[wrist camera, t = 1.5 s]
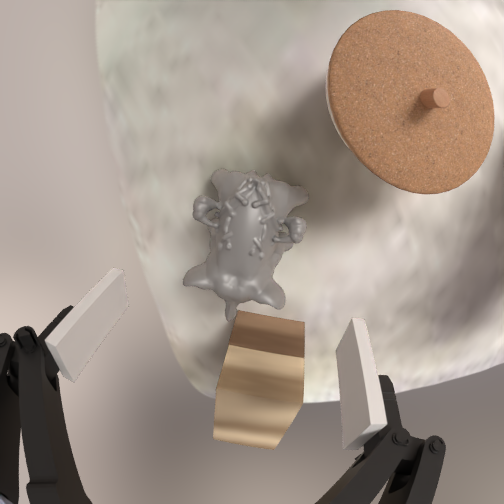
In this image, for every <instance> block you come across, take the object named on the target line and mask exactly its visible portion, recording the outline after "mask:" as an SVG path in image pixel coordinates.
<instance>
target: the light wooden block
mask: <svg viewBox="0 0 504 504" xmlns="http://www.w3.org/2000/svg"><path fill="white" fill-rule="evenodd" d="M303 394H304V358H301V357H294V356H287V355H281V354H275V353H269V352H264V351H258V350H253V349H248V348H243V347H238V346H233V345H229V347H228V350H227V353H226V357H225V360H224V364H223V367H222V370H221V374H220V377H219V381H218V384H217V387H216V400H215V417H214V436H213V438H214V439H216V440H220V441H225V442H229V443H235V444H240V445H246V446H251V447H258V448H264V449H272V450H274V449H275V447H276V446H277V445H278V443H279V442H280V440H281V439H282V437H283V435H284V434H285V432H286V431H287V429H288V428H289V426H290V424H291V423H292V421H293V419H294V418H295V416H296V414H297V413H298V411H299V409H300V408H301V406H302V404H303Z"/></svg>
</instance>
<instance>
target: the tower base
mask: <svg viewBox="0 0 504 504" xmlns="http://www.w3.org/2000/svg"><path fill="white" fill-rule="evenodd" d="M229 345H233V346H238V347H243V348H248V349H253V350H258V351H264V352H269V353H275V354H281V355H287V356H294V357H301V358H304V347H305V322H300V321H294V320H288V319H282V318H277V317H271V316H266V315H260V314H255V313H250V312H245V311H240V310H238V313H237V316H236V320H235V323H234V326H233V330H232V333H231V337H230V340H229V344H228V347H229Z"/></svg>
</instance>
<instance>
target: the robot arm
mask: <svg viewBox="0 0 504 504" xmlns="http://www.w3.org/2000/svg"><path fill="white" fill-rule="evenodd" d="M128 307H129V304H128V298H127V291H126V283H125V276H124V270H122V269H118V268H114V267H113V268H112V269H111V270H110V271H109V272H108V273H107V274H106V275H105V276H104V277H103V278H102V279H101V280H100V281H99V282H98V283H97V284H96V285H95V286H94V287H93V288H92V289H91V290H90V291H89V292H88V293H87V294H86V295H85V296H84V297H83V298H82V299H81V300H80V301H79V303H78V304H77V305H76V306H75V307H73V306H71V305H70V306H69V307H67V308H65V309H63V310H62V311H61V312H60V313H59V314H58V315H57V317H56V318H55V319H54V320H53V322H51V323H50V324H49V325H48V326H47V328H46V329H45V330H44V331H43V332H42V333H41V334H40V335H39V336H38V337H37V335H36V333H35V331H34V329H33V328H32V327H29V326H24V327H21V328H19V329H18V330H17V331H16V332H15V334H14V337H13V338H14V340H15V341H13V340H12V339H11V336H10V335H8V334H7V333H1V334H0V504H18V500H19V445H20V432H21V430H22V439H23V445H24V452H25V457H26V463H27V467H28V472H29V477H30V482H29V483H28V484H27V486H26V489H27V495H28V498H29V501H30V504H92V502H91V501H90V499H89V498H88V497H87V496H86V494H85V492H84V489H83V486H82V483H81V480H80V477H79V474H78V471H77V468H76V465H75V461H74V458H73V454H72V450H71V446H70V442H69V438H68V434H67V430H66V424H65V419H64V413H63V408H62V401H61V396H60V387H59V378H58V375H57V373H58V372H59V370H60V371H61V373H62V375H63V377H65V378H67V379H69V380H70V381H72V382H75V381H76V379H77V378H78V376H79V375H80V373H81V372H82V370H83V369H84V367H85V366H86V364H87V363H88V362H89V360H90V359H91V357H92V356H93V354H94V353H95V352H96V350H97V349H98V347H99V346H100V345H101V343H102V342H103V340H104V339H105V338H106V336H107V335H108V333H109V332H110V331H111V329H112V328H113V327H114V325H115V324H116V323H117V321H118V320H119V319H120V317H121V316H122V315H123V313H124V312H125V311H126V309H127V308H128ZM336 358H337V367H338V378H339V389H340V402H341V416H342V436H343V450H358V449H359V448H360V447H362V446H363V445H364V452H363V453H362V454H360V455H359V456H358V457H356V458H355V460H356V461H355V462H354V463H353V464H352V466H351V467H350V468H349V469H348V470H347V471H346V473H345V474H344V475H343V476H342V477H341V478H340V479H339V480H338V481H337V482H336V483H335V484H334V486H332V487H331V488H330V489H329V491H328V492H327V493H326V494H325V495H323V497H322V498H321V499H319V500H318V501H317V502H316V503H315V504H370V503H371V502H372V501H373V499H374V498H375V497H376V495H377V494H378V493H379V491H380V490H381V489H382V487H383V486H384V485H385V483H386V481H388V483H387V485H386V488H385V490H384V492H383V495H382V497H381V499H380V501H379V503H378V504H432V501H433V498H434V495H435V491H436V488H437V484H438V481H439V477H440V473H441V469H442V465H443V459H444V455H445V450H446V445H445V443H444V441H443V440H442V438H440V437H439V436H431V437H429V438H428V439H426V440H423V439H419V438H415V437H412V436H410V434H409V432H408V431H407V430H406V429H404V428H402V425H401V419H400V415H399V410H398V405H397V401H396V396H395V394H394V393H395V391H394V387H393V383H392V382H391V380H390V379H389V377H388V376H387V375H378V372H377V368H376V363H375V359H374V355H373V351H372V346H371V342H370V338H369V335H368V331H367V327H366V323H365V319H360V318H354V317H352V318H351V321H350V323H349V325H348V327H347V329H346V331H345V333H344V335H343V337H342V339H341V341H340V343H339V345H338V347H337V349H336ZM7 372H8V374H7ZM388 479H389V480H388Z"/></svg>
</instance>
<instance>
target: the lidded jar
mask: <svg viewBox="0 0 504 504" xmlns="http://www.w3.org/2000/svg"><path fill="white" fill-rule="evenodd" d="M325 84H326V100H327V106H328V110H329V113H330V116H331V119H332V122H333V124H334V126H335V128H336V130H337V132H338V134H339V136H340V137H341V139H342V140H343V142H344V143H345V145H346V146H347V147H348V148H349V149H350V150H351V151H352V153H353V154H354V155H355V156H356V157H357V158H358V159H359V161H360V162H361V163H362V164H364V165H365V166H366V167H367V168H368V169H369V170H370V171H371V172H372V173H374V174H375V175H377V176H378V177H380V178H381V179H383V180H384V181H385V182H387V183H389V184H391V185H393V186H395V187H397V188H399V189H402V190H405V191H409V192H412V193H419V194H438V193H442V192H446V191H450V190H452V189H454V188H456V187H459V186H460V185H462V184H463V183H464V182H466V181H467V180H469V179H470V178H471V177H472V176H473V175H474V174H475V173H476V172H477V170H478V169H479V167H480V166H481V165H482V163H483V161H484V160H485V158H486V156H487V154H488V152H489V148H490V145H491V142H492V137H493V131H494V107H493V100H492V96H491V92H490V88H489V85H488V82H487V80H486V77H485V75H484V73H483V71H482V69H481V67H480V65H479V63H478V62H477V60H476V59H475V57H474V56H473V54H472V53H471V51H470V50H469V49H468V48H467V47H466V46H465V45H464V44H463V42H462V41H461V40H460V39H458V38H457V37H456V36H455V35H454V34H453V33H452V32H451V31H449V30H448V29H446V28H445V27H443V26H442V25H440V24H439V23H437V22H435V21H433V20H431V19H429V18H427V17H425V16H422V15H419V14H415V13H412V12H406V11H399V10H390V11H381V12H376V13H372V14H370V15H367V16H365V17H363V18H361V19H359V20H358V21H357V22H355V23H354V24H352V25H351V26H350V27H349V28H348V29H347V30H346V31H345V33H344V34H343V35H342V36H341V38H340V39H339V41H338V43H337V45H336V46H335V48H334V50H333V53H332V56H331V59H330V62H329V67H328V70H327V76H326V83H325Z"/></svg>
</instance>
